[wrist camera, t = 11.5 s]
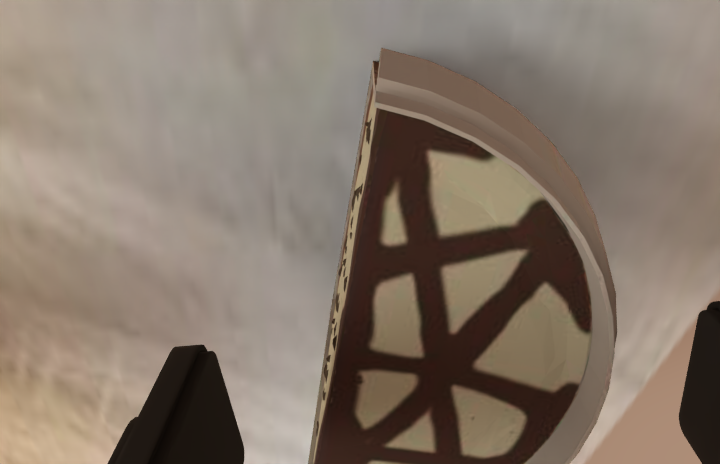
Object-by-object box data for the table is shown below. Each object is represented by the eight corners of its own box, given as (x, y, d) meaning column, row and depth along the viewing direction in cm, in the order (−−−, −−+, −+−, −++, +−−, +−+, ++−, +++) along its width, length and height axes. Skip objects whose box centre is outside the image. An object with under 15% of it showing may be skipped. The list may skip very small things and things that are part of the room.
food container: (473, 353, 23) (533, 605, 14) (327, 330, 23) (291, 572, 14) (572, 46, 18) (773, 136, 9) (381, 12, 17) (380, 67, 8)
